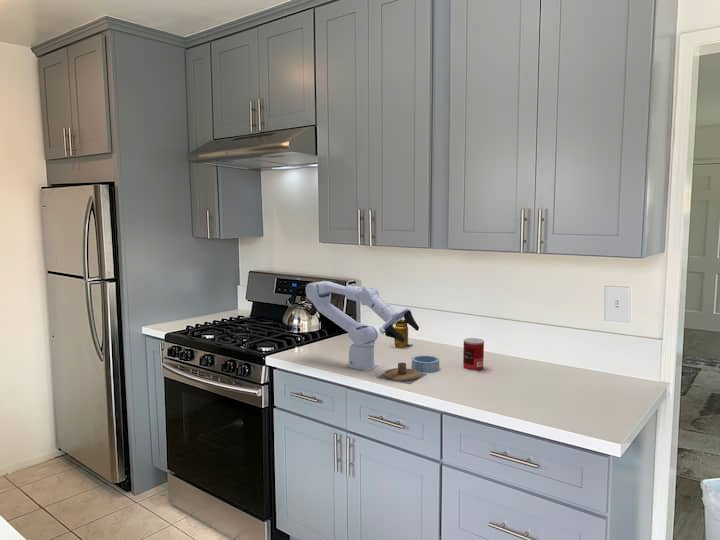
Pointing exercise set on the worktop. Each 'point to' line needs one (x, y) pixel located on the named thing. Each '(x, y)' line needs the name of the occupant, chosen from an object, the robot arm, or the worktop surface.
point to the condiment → (402, 330)
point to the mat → (402, 381)
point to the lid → (401, 373)
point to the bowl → (425, 363)
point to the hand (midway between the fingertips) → (411, 334)
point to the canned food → (473, 353)
